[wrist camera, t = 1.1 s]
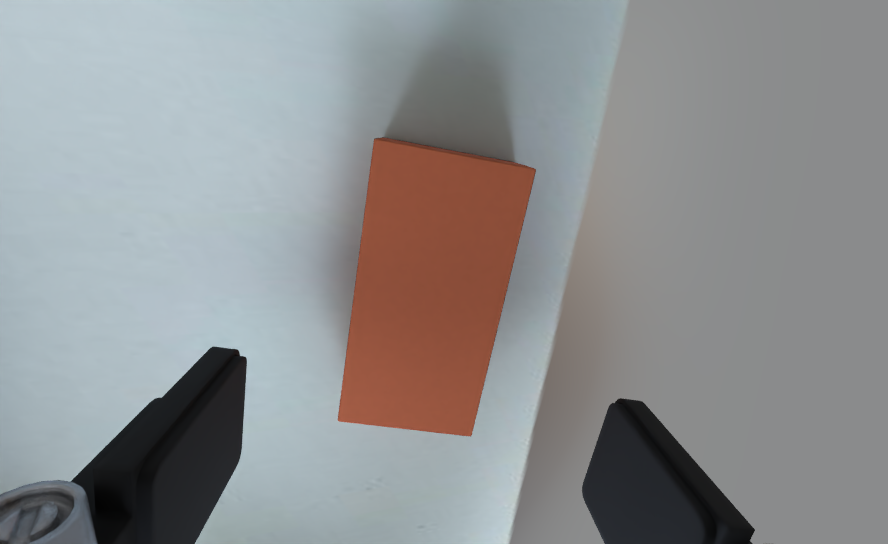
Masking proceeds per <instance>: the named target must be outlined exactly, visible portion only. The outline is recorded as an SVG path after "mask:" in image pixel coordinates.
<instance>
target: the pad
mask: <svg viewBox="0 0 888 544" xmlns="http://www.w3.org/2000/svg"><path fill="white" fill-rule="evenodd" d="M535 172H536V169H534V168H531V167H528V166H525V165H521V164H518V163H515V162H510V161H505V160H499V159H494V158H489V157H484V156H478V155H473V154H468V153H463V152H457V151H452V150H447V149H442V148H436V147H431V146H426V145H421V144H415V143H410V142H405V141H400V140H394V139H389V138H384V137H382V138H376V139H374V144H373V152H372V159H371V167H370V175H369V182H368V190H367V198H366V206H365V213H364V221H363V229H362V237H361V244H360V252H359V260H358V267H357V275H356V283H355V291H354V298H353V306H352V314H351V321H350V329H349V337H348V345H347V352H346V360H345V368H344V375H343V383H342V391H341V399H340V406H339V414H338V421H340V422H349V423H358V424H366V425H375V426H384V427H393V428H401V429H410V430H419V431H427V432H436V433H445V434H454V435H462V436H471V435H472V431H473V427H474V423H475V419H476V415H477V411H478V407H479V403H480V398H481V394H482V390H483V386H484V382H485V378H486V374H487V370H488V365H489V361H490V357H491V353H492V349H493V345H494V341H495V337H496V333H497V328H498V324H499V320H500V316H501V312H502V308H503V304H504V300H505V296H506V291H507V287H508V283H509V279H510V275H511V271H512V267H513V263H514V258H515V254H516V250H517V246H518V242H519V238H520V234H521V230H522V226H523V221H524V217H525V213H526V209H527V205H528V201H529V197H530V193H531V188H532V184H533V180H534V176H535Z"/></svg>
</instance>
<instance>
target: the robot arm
mask: <svg viewBox="0 0 888 544" xmlns="http://www.w3.org/2000/svg"><path fill="white" fill-rule="evenodd" d="M246 366H247V360H246V357H243V356H240V354H239V351H238V350H236V349H228V348H220V347H212V348H210V349H209V350H208V351H207V352H206V353H205V354H204V355H203V356H202V357H201V358H200V359H199V360H198V361H197V362H196V363H195V364H194V365H193V367H192V368H191V369H190V370H189V371H188V372H187V373H186V374H185V375H184V376H183V377H182V378H181V379H180V380H179V381H178V382H177V383H176V384H175V385H174V386H173V387H172V388H171V389H170V390H169V391H168V392H167V393H166V394H165V395H164V396H163V397H162V398H156V399H154V400H153V401H151V402H150V403H149V404H148V405H147V406H146V407H145V408H144V409H143V410H142V411H141V412H140V413H139V414H138V415H137V416H136V417H135V418H134V419H133V420H132V421H131V422H130V423H129V424H128V425H127V426H126V427H125V428H124V429H123V430H122V431H121V432H120V433H119V434H118V435H117V436H116V437H115V438H114V439H113V440H112V441H111V442H110V443H109V444H108V445H107V446H106V447H105V448H104V449H103V450H102V451H101V452H100V453H99V454H98V455H97V456H96V457H95V458H94V459H93V460H92V461H91V462H90V463H89V464H88V465H87V466H86V467H85V468H84V469H83V470H82V471H81V472H80V473H79V474H78V475H77V476H76V477H75V478H74V479H73V480H72V481H71V482H68V481H61V480H54V481H41V482H37V483H33V484H28V485H24V486H21V487H19V488H16V489H13V490H11V491H8V492H5V493H3V494H1V495H0V544H195V542H196V540H197V538H198V537H199V535H200V533H201V531H202V529H203V527H204V526H205V524H206V522H207V520H208V518H209V516H210V515H211V513H212V511H213V509H214V507H215V505H216V503H217V502H218V500H219V498H220V496H221V494H222V492H223V491H224V489H225V487H226V485H227V483H228V481H229V479H230V478H231V476H232V474H233V472H234V470H235V468H236V467H237V464H238V462H239V459H240V455H241V449H242V433H243V417H244V400H245V383H246ZM582 493H583V498H584V501H585V503H586V505H587V507H588V509H589V511H590V513H591V515H592V518H593V520H594V522H595V524H596V526H597V528H598V530H599V532H600V535H601V537H602V539H603V541H604V543H605V544H752V543H751V542H750V539H751V537H752V535H753V533H754V531H755V529H754V528H753V527H752V526H751V525H750V524H749V523H748V521H747V520H746V519H745V518H744V517H743V516H742V515H741V513H740V512H739V511H738V510H737V509H736V508H735V507H734V505H733V504H732V503H731V502H730V501H729V500H728V499H727V497H726V496H725V495H724V494H723V493H722V492H721V491H720V489H719V488H718V487H717V486H716V485H715V484H714V483H713V481H711V479H710V478H709V477H708V476H707V475H706V473H705V472H704V471H703V470H702V469H701V468H700V467H699V466H698V464H697V463H696V462H695V461H694V460H693V459H692V458H691V456H690V455H689V454H688V453H687V452H686V451H685V449H684V448H683V447H682V446H681V445H680V444H679V443H678V441H677V440H676V439H675V438H674V437H673V436H672V435H671V433H670V432H669V431H668V430H667V429H666V428H665V427H664V425H663V424H662V423H661V422H660V421H659V420H658V419H657V417H656V416H655V415H654V414H653V413H652V412H651V411H650V409H649V408H648V407H647V406H646V405H645V404H644V403H643V402H641V401H636V400H629V399H618V400H617V401H616V402H615V403H612V404H611V405H610V406H609V408H608V411H607V414H606V417H605V420H604V423H603V426H602V429H601V432H600V435H599V438H598V441H597V444H596V447H595V449H594V452H593V455H592V458H591V461H590V465H589V467H588V470H587V473H586V477H585V479H584V482H583V487H582Z"/></svg>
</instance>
